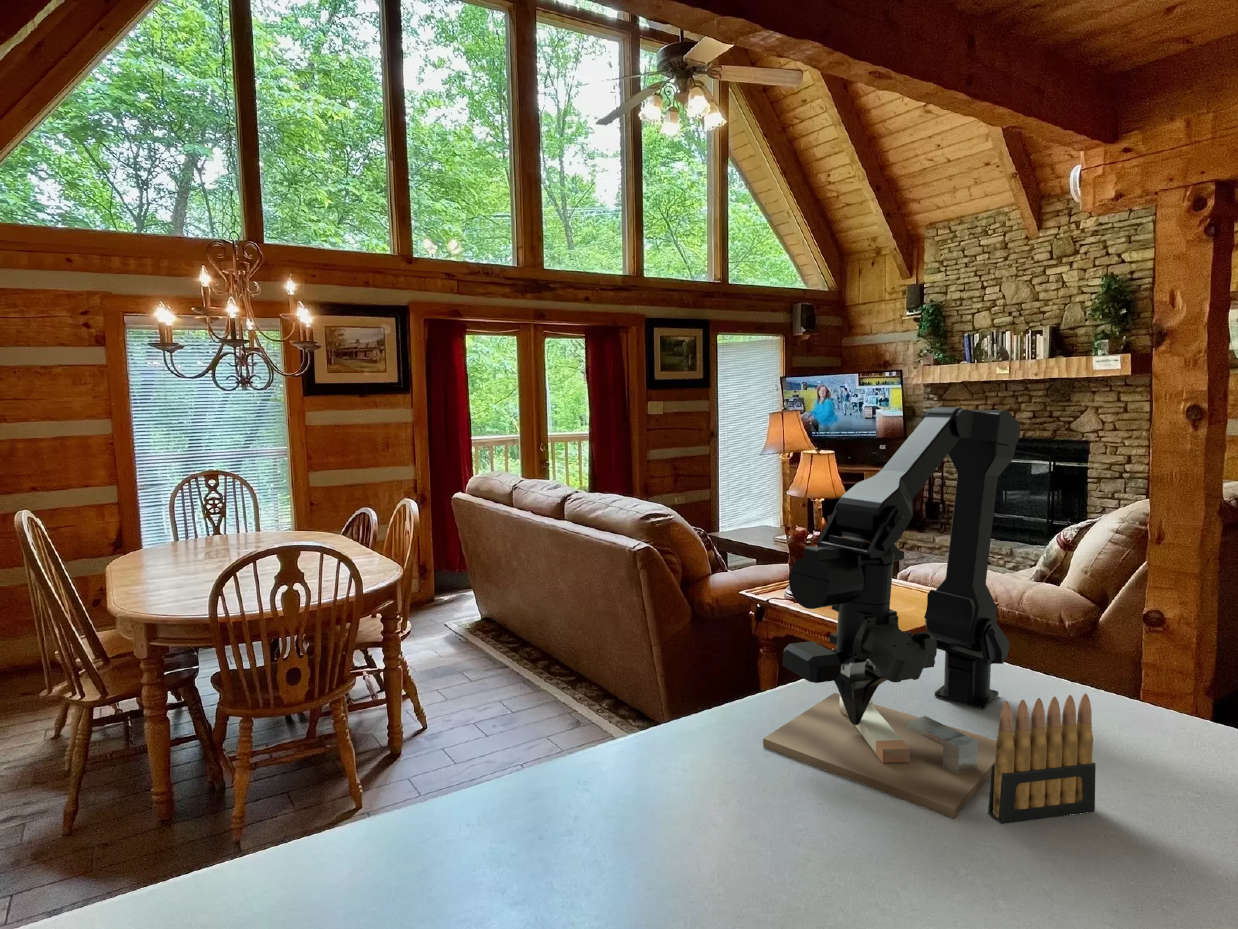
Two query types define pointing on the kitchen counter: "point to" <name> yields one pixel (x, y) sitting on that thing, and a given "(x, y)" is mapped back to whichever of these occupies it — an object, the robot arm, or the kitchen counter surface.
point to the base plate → (846, 753)
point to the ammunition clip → (1043, 763)
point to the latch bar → (880, 735)
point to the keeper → (948, 744)
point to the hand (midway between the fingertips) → (854, 723)
